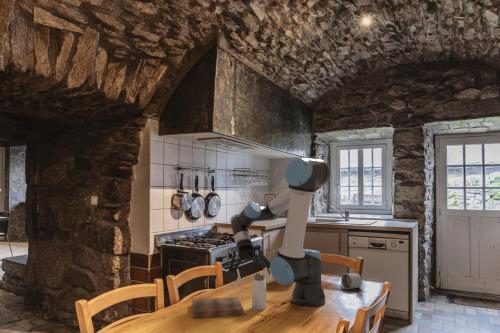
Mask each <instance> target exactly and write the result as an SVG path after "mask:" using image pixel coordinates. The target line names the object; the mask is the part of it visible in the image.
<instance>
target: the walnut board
mask: <svg viewBox="0 0 500 333" xmlns="http://www.w3.org/2000/svg"><path fill="white" fill-rule="evenodd" d="M191 305H192V318H193V319H209V318H210V319H211V318H226V317H227V318H228V317H229V318H230V317H241V316H242V317H243V316H244V314H245V312H244V311H245V310H244V307H243V305H242V303H241V300H240V299H239V297H238V296H235V297H233V296H232V297H217V298H216V297H215V298H195V299H192V304H191Z"/></svg>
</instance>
